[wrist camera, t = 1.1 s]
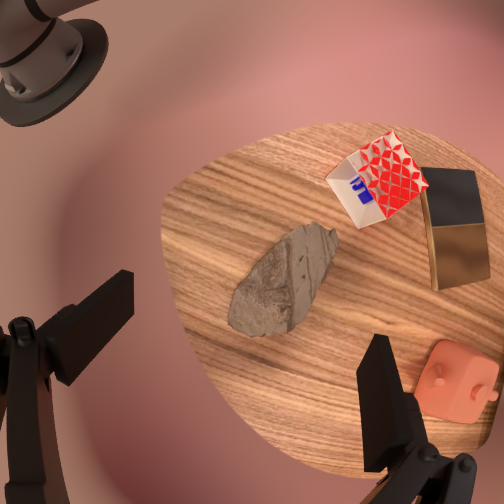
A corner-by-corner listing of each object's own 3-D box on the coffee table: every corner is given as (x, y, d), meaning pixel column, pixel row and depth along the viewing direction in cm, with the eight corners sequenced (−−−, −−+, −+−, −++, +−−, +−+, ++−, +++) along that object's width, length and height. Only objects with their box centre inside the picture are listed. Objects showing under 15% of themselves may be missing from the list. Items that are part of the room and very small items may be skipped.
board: (414, 169, 40) (419, 166, 38) (470, 172, 41) (475, 170, 40) (431, 290, 39) (437, 291, 37) (485, 278, 40) (491, 278, 38)
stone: (313, 212, 38) (261, 201, 31) (371, 242, 33) (329, 238, 26) (272, 311, 43) (217, 322, 35) (318, 348, 37) (267, 370, 30)
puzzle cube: (397, 200, 39) (429, 186, 31) (358, 229, 38) (386, 219, 30) (366, 152, 39) (392, 129, 31) (324, 177, 38) (345, 156, 31)
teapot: (454, 415, 38) (492, 436, 27) (378, 398, 37) (416, 427, 27) (480, 353, 39) (523, 364, 28) (411, 324, 38) (457, 335, 28)
